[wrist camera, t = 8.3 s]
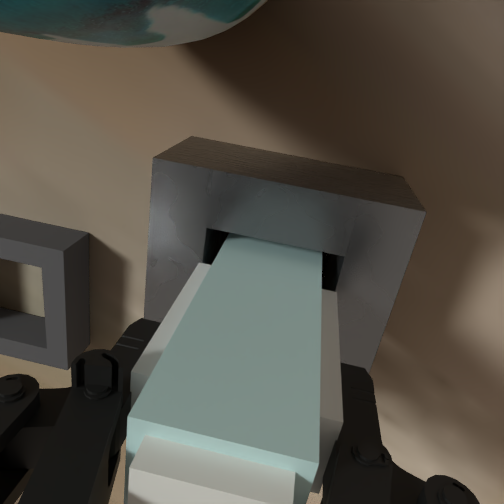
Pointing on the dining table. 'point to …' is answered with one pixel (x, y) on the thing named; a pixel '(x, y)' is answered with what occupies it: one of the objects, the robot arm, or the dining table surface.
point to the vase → (123, 20)
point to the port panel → (283, 227)
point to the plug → (235, 386)
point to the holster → (48, 292)
